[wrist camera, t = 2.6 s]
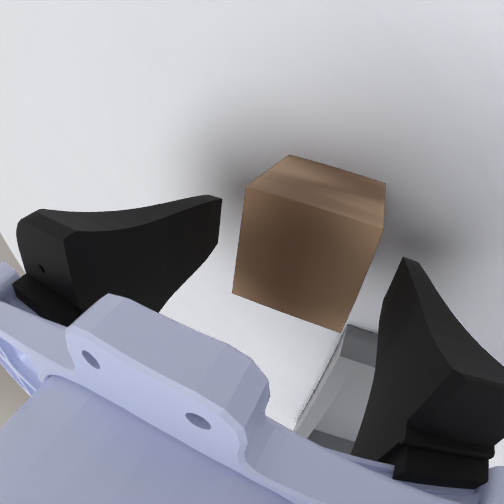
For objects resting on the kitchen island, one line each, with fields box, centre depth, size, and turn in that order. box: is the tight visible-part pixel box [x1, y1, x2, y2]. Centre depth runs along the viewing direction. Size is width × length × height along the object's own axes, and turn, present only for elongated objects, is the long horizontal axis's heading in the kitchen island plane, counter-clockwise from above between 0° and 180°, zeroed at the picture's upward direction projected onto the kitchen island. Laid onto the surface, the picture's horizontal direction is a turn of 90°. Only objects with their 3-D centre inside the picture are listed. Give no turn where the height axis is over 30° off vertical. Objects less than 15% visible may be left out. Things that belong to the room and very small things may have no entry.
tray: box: [294, 325, 378, 455], centre depth 18 cm, size 12×12×2 cm
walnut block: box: [232, 155, 385, 333], centre depth 13 cm, size 4×4×5 cm
